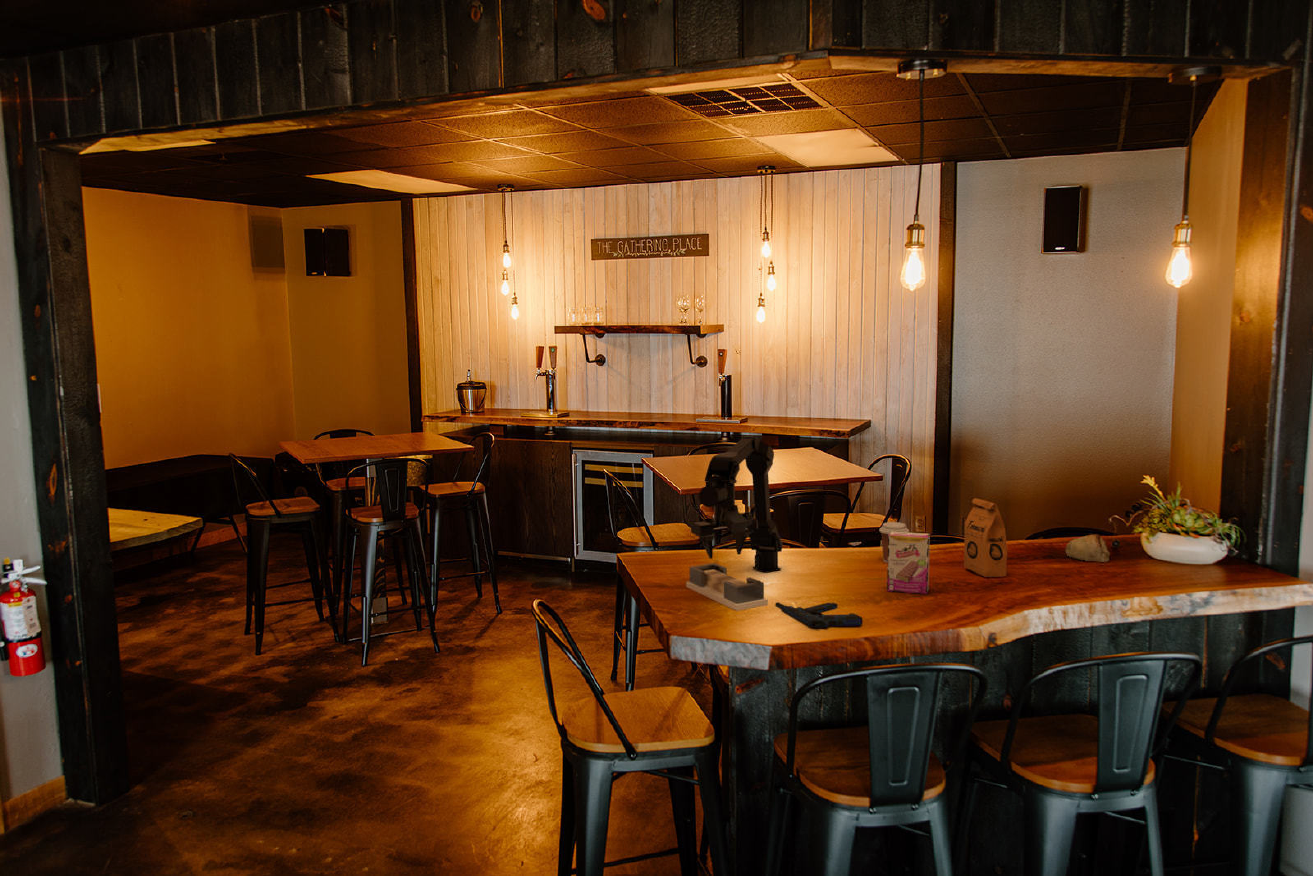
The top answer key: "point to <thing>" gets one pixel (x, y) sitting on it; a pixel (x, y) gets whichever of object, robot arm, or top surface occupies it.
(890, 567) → the candy bar box
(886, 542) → the coffee cup
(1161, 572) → the top surface
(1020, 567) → the top surface
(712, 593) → the end-cap board
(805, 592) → the top surface
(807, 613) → the gun
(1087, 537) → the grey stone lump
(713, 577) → the beige rectangular bar
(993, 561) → the coffee package
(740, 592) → the end caps
